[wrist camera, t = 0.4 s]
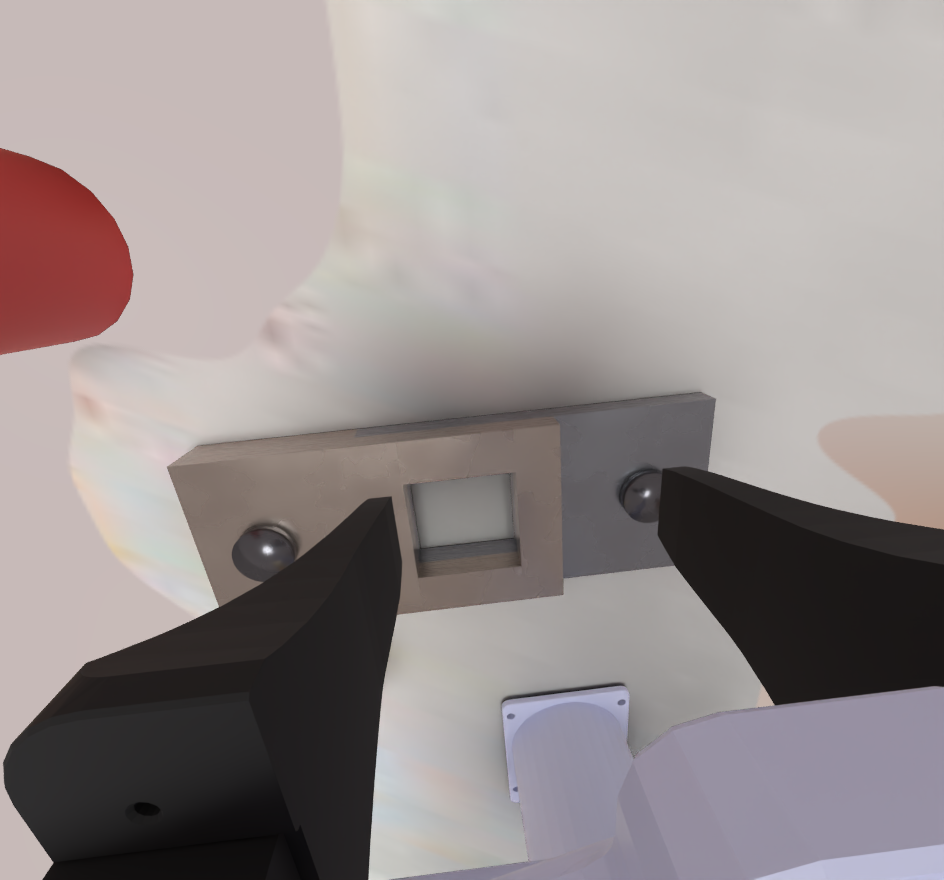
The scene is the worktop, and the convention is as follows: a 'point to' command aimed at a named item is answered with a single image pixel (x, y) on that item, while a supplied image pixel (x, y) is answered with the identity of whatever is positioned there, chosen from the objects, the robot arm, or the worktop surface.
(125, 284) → the beer can
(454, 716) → the worktop surface
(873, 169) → the worktop surface
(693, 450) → the door strike plate
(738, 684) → the worktop surface
